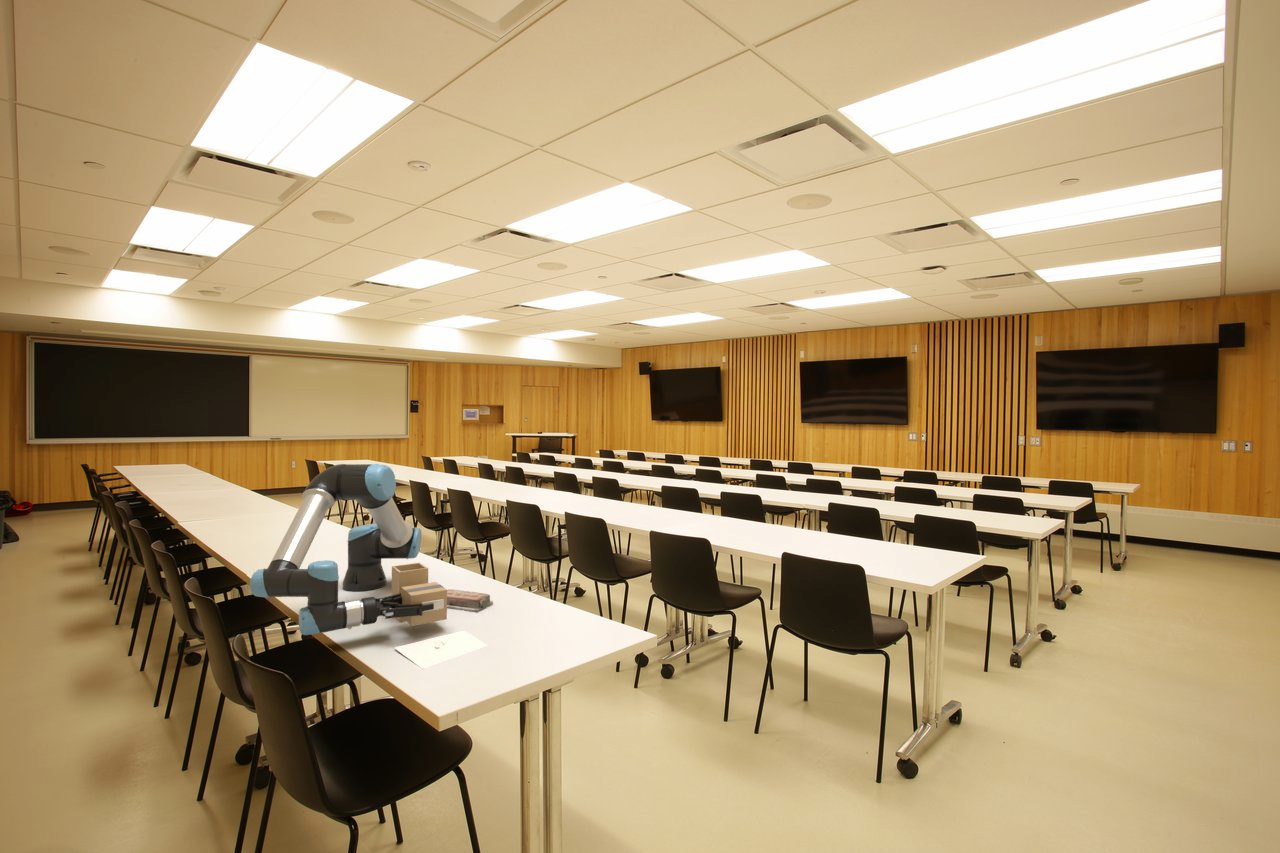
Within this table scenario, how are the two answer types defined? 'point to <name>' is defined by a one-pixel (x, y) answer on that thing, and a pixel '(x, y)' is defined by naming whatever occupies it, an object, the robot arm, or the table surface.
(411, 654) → the paper sheet
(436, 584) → the brown cardboard block
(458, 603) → the packaged product
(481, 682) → the table surface
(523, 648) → the table surface
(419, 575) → the tan tall box
